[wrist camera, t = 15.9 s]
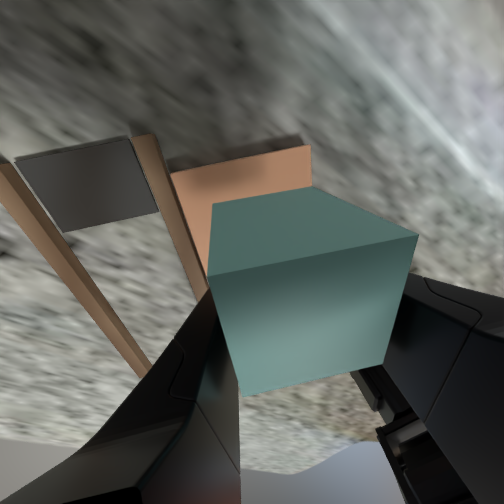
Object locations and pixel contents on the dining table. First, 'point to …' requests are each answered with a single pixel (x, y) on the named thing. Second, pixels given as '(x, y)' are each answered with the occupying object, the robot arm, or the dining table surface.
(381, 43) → the dining table surface
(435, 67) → the dining table surface
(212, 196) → the tile
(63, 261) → the chute
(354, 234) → the block
